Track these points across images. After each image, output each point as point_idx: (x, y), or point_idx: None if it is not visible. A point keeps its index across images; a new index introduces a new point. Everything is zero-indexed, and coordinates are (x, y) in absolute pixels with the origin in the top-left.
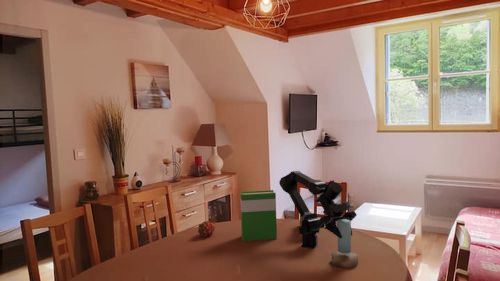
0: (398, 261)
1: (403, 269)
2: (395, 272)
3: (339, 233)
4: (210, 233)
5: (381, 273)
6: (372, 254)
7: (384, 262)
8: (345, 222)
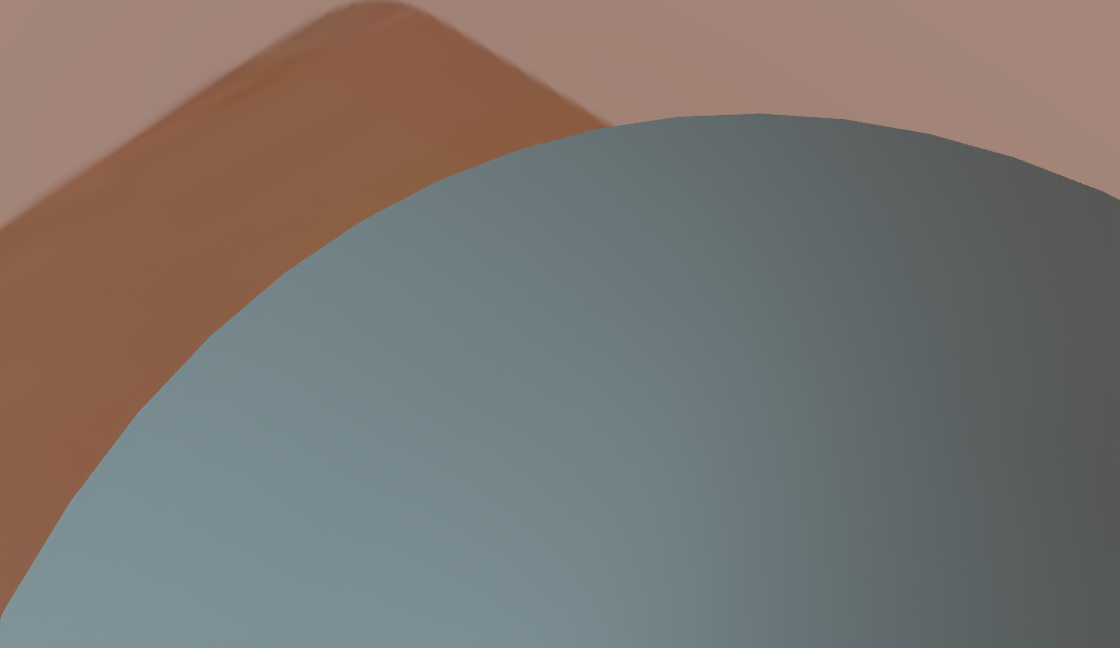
0: (51, 206)
1: (237, 67)
2: (366, 72)
3: None
4: None
5: (498, 132)
6: (15, 564)
7: (192, 283)
8: (1047, 323)
